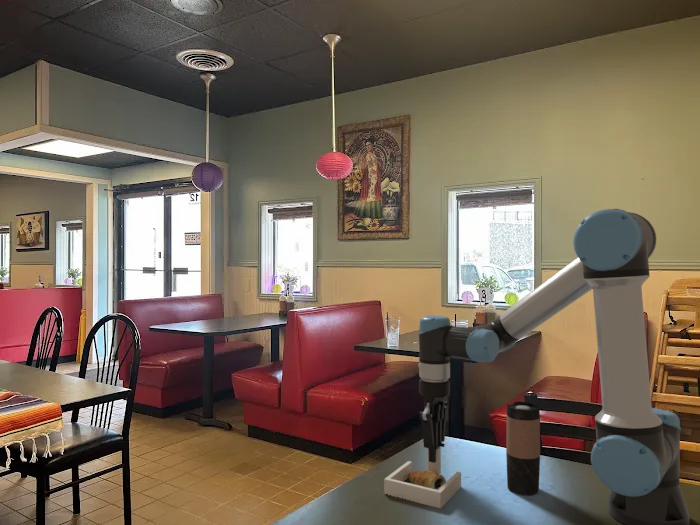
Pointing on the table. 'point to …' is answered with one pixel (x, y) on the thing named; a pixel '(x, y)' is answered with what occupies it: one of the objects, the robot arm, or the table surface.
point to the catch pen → (420, 488)
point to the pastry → (427, 479)
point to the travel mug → (523, 448)
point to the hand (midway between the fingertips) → (434, 473)
